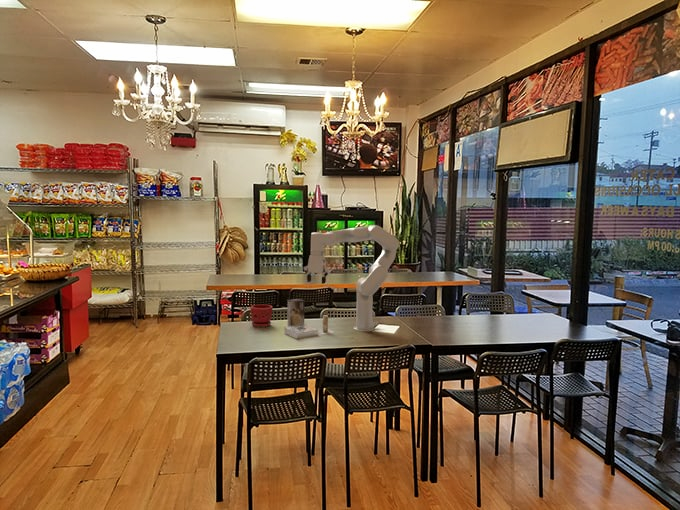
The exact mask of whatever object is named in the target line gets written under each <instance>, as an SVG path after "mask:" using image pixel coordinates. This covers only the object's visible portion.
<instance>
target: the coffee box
mask: <svg viewBox="0 0 680 510" xmlns="http://www.w3.org/2000/svg"><path fill="white" fill-rule="evenodd" d="M303 324H305V300H304V299H302V298H296V299H292V298H291V299H287V327H290V326H296V325H303Z"/></svg>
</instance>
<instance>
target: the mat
mask: <svg viewBox="0 0 680 510" xmlns="http://www.w3.org/2000/svg"><path fill="white" fill-rule="evenodd" d="M333 333H336V331H333V330H331V329H329V328H328V332H327V333H324V332H323V328H321V329H318V335H321V336H322V335H323V336H325V335H329V334H333Z"/></svg>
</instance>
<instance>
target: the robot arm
mask: <svg viewBox="0 0 680 510" xmlns="http://www.w3.org/2000/svg"><path fill="white" fill-rule="evenodd" d="M371 240H373V241H375V242H376V243H378V244H379V245H380V246H381V247H382V250H381V254H380V255H379V256H378V257H377V259H376V260H375V261H374V263H373V264H372V265H371V266H370V267H369V269H368V274H369V275H368V276H362V277H360V278H359V279H358V280H357V281H356V286H355V288H356V290H355V291H356V309H355V310H356V312H355V314H356V317H355V325H354V326H353V328H352V329H353V330H354V331H357V332H364V333H368V332H369V333H370V332H373V331H374V330H375V327H374V326H378V324H379V322H378V321H373V302H374V300H373V295H374V294H375V293H376V292H377V291H378V290H379V289H380V288H381V286H382V285H383V284H384V283H385V281H386V280H387V278H388V275H389V271H388V270H389V268H390V267H391V265H392V264H393V262H394V261H395V259H396V255H397V250H398V249H399V246H400V241H399V239H398V238H397V237H395V235H393V234H391V233H390V232H388V231H387V230H385V229H384V228H383V227H381V226H380V225H378V224H373V225H372V224H370V225H365V226H358V227H351V228H345V229H337V230H332V231H327V232H324V233H323V232H317V231H316V232H311V235H310V255H309V258H308V261H307V262H308V263H307V265H306V266H303V271H304V273H305V274H306V276H307V277H306V280H307V283H311V282H312V274H313V273H314V274H320V275H321V276H322V277H321V284H326V282H327V276H328V275H329V273H330V271H331V269H330V268H328V267H327V262H326V257H325V256H326V252H325V251H324V248H325V247H324V246H331V247H332V246H335V245H336V244H338V243H339V244H340V243H357V242H358V243H359V242H365V241H371ZM324 255H325V256H324Z"/></svg>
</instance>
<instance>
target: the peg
mask: <svg viewBox="0 0 680 510" xmlns="http://www.w3.org/2000/svg"><path fill="white" fill-rule="evenodd" d="M322 329H323V332H324V333H327V332H328V329H329V315H326V314H325V315H322Z"/></svg>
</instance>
